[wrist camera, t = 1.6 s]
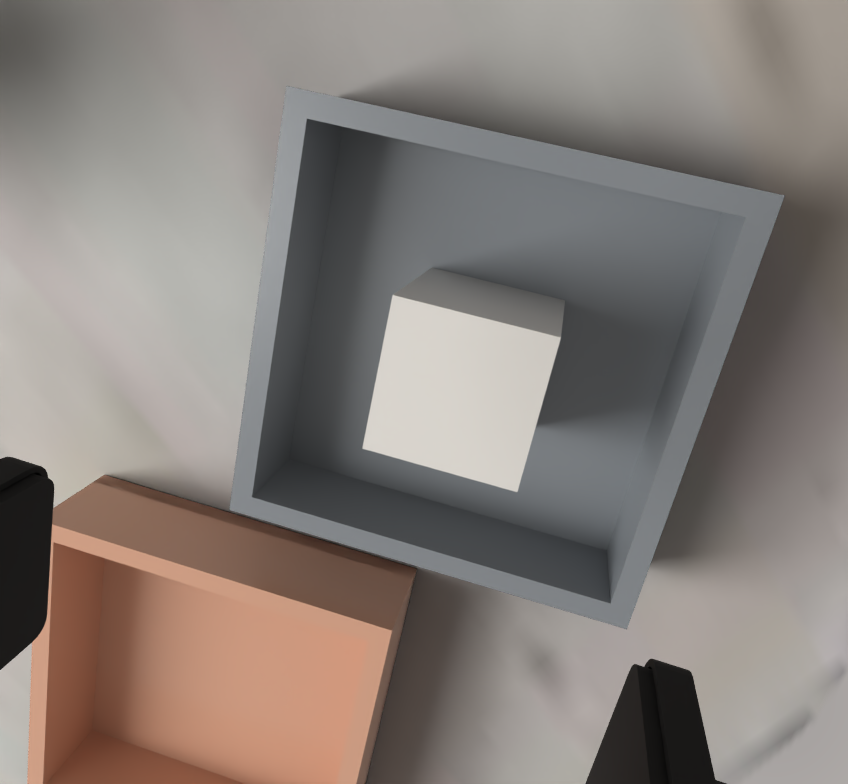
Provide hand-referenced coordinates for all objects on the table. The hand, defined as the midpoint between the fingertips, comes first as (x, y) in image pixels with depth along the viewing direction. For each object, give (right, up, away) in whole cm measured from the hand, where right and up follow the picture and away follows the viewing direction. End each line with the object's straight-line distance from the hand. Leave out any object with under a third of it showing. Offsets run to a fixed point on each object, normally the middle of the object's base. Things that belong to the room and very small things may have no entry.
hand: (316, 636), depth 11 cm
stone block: (+4, +5, +16) cm, 18 cm away
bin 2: (+4, +6, +17) cm, 18 cm away
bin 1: (-7, -9, +24) cm, 27 cm away
